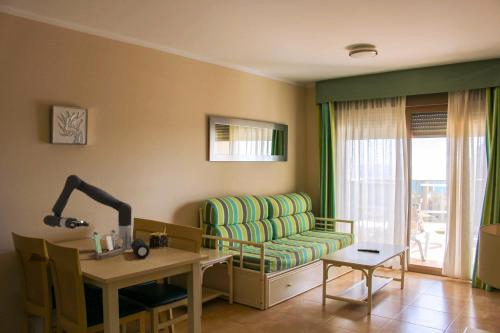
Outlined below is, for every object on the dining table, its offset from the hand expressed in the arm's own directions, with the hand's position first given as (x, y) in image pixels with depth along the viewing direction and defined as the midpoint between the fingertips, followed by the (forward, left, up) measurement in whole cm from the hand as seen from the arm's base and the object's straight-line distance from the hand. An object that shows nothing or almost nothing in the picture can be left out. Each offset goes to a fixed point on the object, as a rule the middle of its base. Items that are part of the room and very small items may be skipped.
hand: (88, 224), depth 286 cm
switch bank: (-13, +1, -22) cm, 25 cm away
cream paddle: (-15, -1, -18) cm, 24 cm away
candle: (-51, -21, -22) cm, 59 cm away
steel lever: (-19, -5, -18) cm, 27 cm away
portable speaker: (-34, +5, -22) cm, 41 cm away
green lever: (-7, +7, -18) cm, 21 cm away
